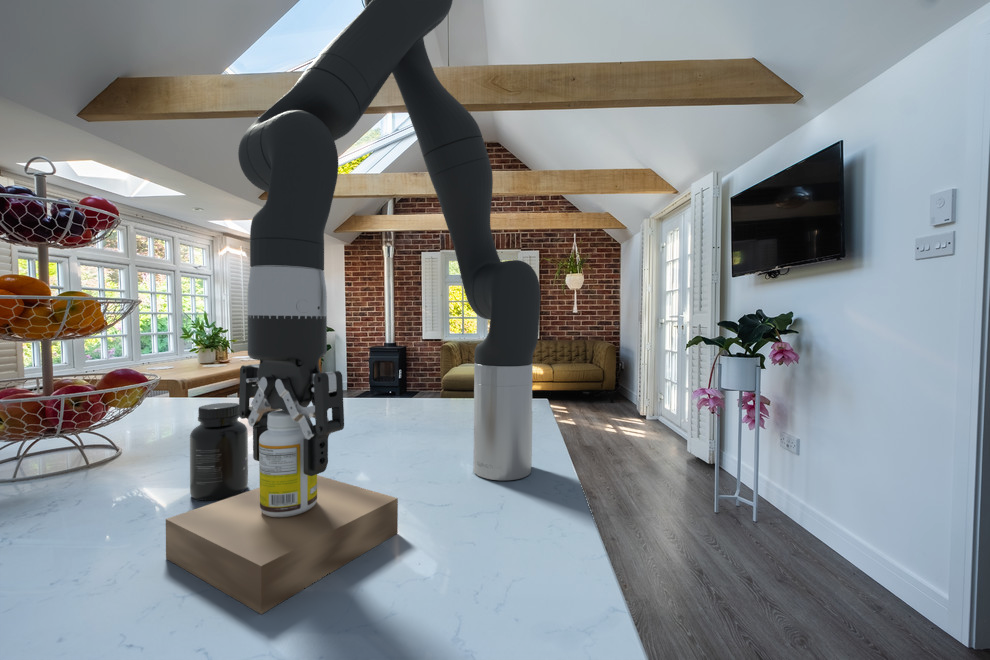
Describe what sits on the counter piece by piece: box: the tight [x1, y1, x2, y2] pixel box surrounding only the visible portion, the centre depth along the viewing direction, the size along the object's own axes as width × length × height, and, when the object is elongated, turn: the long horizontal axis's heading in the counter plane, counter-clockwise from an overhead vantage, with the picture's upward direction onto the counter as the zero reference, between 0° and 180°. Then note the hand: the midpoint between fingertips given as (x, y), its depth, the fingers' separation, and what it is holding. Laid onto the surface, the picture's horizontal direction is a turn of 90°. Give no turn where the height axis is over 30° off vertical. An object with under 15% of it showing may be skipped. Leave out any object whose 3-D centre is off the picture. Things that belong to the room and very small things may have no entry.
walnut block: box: [165, 474, 399, 615], centre depth 47 cm, size 16×16×4 cm
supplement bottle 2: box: [258, 409, 318, 517], centre depth 47 cm, size 6×6×10 cm
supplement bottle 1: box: [189, 402, 249, 501], centre depth 61 cm, size 7×7×12 cm
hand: (288, 465), depth 47 cm, fingers open, 8 cm apart
